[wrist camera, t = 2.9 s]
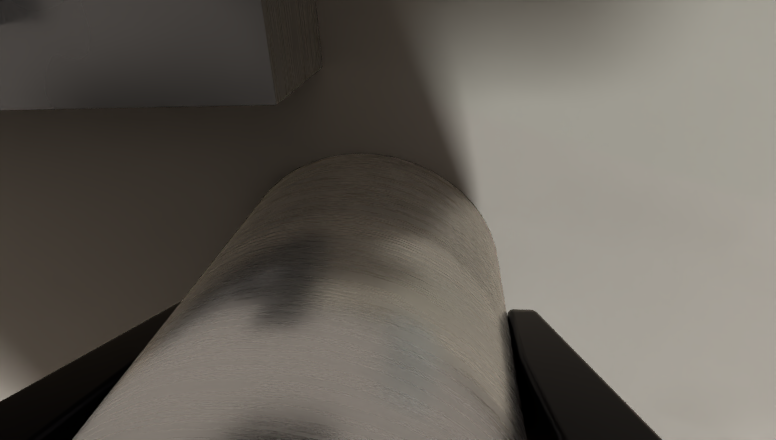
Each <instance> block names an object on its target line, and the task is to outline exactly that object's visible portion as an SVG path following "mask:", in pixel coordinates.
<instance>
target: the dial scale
mask: <svg viewBox="0 0 776 440" xmlns="http://www.w3.org/2000/svg"><path fill="white" fill-rule="evenodd" d="M321 68H322V58H321V48H320V39H319V29H318V19H317V10H316V0H0V110H34V109H86V108H138V107H189V106H241V105H277V104H278V103H279V102H280V101H282V100H283V99H284V98H285V97H287V96H288V95H289V94H290V93H291V92H293V91H294V90H295V89H296V88H298V87H299V86H300V85H301V84H302V83H304V82H305V81H306V80H307V79H309V78H310V77H311V76H312V75H313V74H315V73H316V72H317V71H318V70H320V69H321Z"/></svg>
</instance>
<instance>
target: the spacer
mask: <svg viewBox="0 0 776 440" xmlns="http://www.w3.org/2000/svg"><path fill="white" fill-rule="evenodd" d="M72 440H527V437H526V431H525V425H524V419H523V412H522V406H521V400H520V394H519V387H518V381H517V375H516V369H515V363H514V356H513V350H512V344H511V338H510V331H509V325H508V319H507V313H506V307H505V300H504V294H503V288H502V282H501V275H500V269H499V263H498V257H497V251H496V247H495V244H494V241H493V238H492V235H491V232H490V230H489V228H488V227H487V225H486V223H485V221H484V219H483V217H482V216H481V215H480V213H479V212H478V210H477V209H476V208H475V206H474V205H473V204H472V203H471V202H470V201H469V200H468V198H467V197H466V196H465V195H464V194H463V193H462V192H461V191H459V190H458V189H457V188H456V187H455V186H453V185H452V184H451V183H450V182H448V181H447V180H445V179H444V178H442V177H440V176H439V175H437V174H436V173H434V172H432V171H430V170H428V169H426V168H424V167H421V166H419V165H417V164H415V163H411V162H408V161H405V160H402V159H399V158H394V157H389V156H383V155H376V154H347V155H338V156H333V157H328V158H324V159H321V160H318V161H315V162H312V163H309V164H307V165H305V166H303V167H301V168H299V169H297V170H295V171H293V172H291V173H290V174H289V175H287V176H286V177H284V178H283V179H282V180H280V181H279V182H278V183H277V184H276V185H275V186H274V187H273V188H272V189H271V190H270V191H269V192H268V193H267V194H266V195H265V197H264V198H263V199H262V200H261V202H260V203H259V204H258V205H257V207H256V208H255V209H254V210H253V212H252V213H251V214H250V216H249V217H248V218H247V219H246V221H245V222H244V223H243V224H242V226H241V227H240V228H239V229H238V231H237V232H236V233H235V234H234V236H233V237H232V238H231V240H230V241H229V242H228V243H227V245H226V246H225V247H224V248H223V250H222V251H221V252H220V253H219V255H218V256H217V257H216V258H215V260H214V261H213V262H212V264H211V265H210V266H209V267H208V269H207V270H206V271H205V272H204V274H203V275H202V276H201V277H200V279H199V280H198V281H197V282H196V284H195V285H194V286H193V288H192V289H191V290H190V291H189V293H188V294H187V295H186V296H185V298H184V299H183V300H182V301H181V303H180V304H179V305H178V306H177V308H176V309H175V310H174V312H173V313H172V314H171V315H170V317H169V318H168V319H167V320H166V322H165V323H164V324H163V325H162V327H161V328H160V329H159V330H158V332H157V333H156V334H155V336H154V337H153V338H152V339H151V341H150V342H149V343H148V344H147V346H146V347H145V348H144V349H143V351H142V352H141V353H140V354H139V356H138V357H137V358H136V360H135V361H134V362H133V363H132V365H131V366H130V367H129V368H128V370H127V371H126V372H125V373H124V375H123V376H122V377H121V378H120V380H119V381H118V382H117V384H116V385H115V386H114V387H113V389H112V390H111V391H110V392H109V394H108V395H107V396H106V397H105V399H104V400H103V401H102V402H101V404H100V405H99V406H98V408H97V409H96V410H95V411H94V413H93V414H92V415H91V416H90V418H89V419H88V420H87V421H86V423H85V424H84V425H83V426H82V428H81V429H80V430H79V432H78V433H77V434H76V435H75V437H74V438H73V439H72Z"/></svg>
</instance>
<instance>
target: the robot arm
mask: <svg viewBox="0 0 776 440" xmlns="http://www.w3.org/2000/svg"><path fill="white" fill-rule="evenodd" d="M180 303H181V302H180ZM180 303H178V304H176V305H174V306H172V307H170V308H169V309H167V310H165V311H163V312H161V313H160V314H158V315H156V316H154V317H152V318H151V319H149V320H147V321H145V322H143V323H142V324H140V325H138V326H136V327H134V328H133V329H131V330H129V331H127V332H125V333H123V334H122V335H120V336H118V337H116V338H114V339H113V340H111V341H109V342H107V343H105V344H104V345H102V346H100V347H98V348H96V349H95V350H93V351H91V352H89V353H87V354H86V355H84V356H82V357H80V358H78V359H76V360H75V361H73V362H71V363H69V364H67V365H66V366H64V367H62V368H60V369H58V370H57V371H55V372H53V373H51V374H49V375H48V376H46V377H44V378H42V379H40V380H39V381H37V382H35V383H33V384H31V385H29V386H28V387H26V388H24V389H22V390H20V391H19V392H17V393H15V394H13V395H11V396H10V397H8V398H6V399H4V400H2V401H1V402H0V440H72V439H73V438H74V437H75V435H76V434H77V433H78V432H79V430H80V429H81V428H82V426H83V425H84V424H85V423H86V421H87V420H88V419H89V418H90V416H91V415H92V414H93V413H94V411H95V410H96V409H97V408H98V406H99V405H100V404H101V402H102V401H103V400H104V399H105V397H106V396H107V395H108V394H109V392H110V391H111V390H112V389H113V387H114V386H115V385H116V384H117V382H118V381H119V380H120V378H121V377H122V376H123V375H124V373H125V372H126V371H127V370H128V368H129V367H130V366H131V365H132V363H133V362H134V361H135V360H136V358H137V357H138V356H139V354H140V353H141V352H142V351H143V349H144V348H145V347H146V346H147V344H148V343H149V342H150V341H151V339H152V338H153V337H154V336H155V334H156V333H157V332H158V330H159V329H160V328H161V327H162V325H163V324H164V323H165V322H166V320H167V319H168V318H169V317H170V315H171V314H172V313H173V312H174V310H175V309H176V308H177V306H178V305H179V304H180ZM507 319H508V325H509V331H510V338H511V344H512V350H513V356H514V363H515V369H516V375H517V381H518V387H519V394H520V400H521V406H522V412H523V419H524V425H525V431H526V437H527V440H662V439H661V438H660V437H659V436H658V435H657V434H656V433H655V432H654V431H653V430H652V429H651V428H650V427H649V426H648V425H647V424H646V423H645V422H644V421H643V420H642V419H641V418H640V417H639V416H638V415H637V414H636V413H635V412H634V411H633V410H632V409H631V408H630V407H629V406H628V405H627V404H626V403H625V402H624V401H623V400H622V399H621V397H620V396H619V395H618V394H617V393H616V392H615V391H614V390H613V389H612V388H611V387H610V386H609V385H608V384H607V383H606V382H605V381H604V380H603V379H602V378H601V377H600V376H599V375H598V374H597V373H596V372H595V371H594V370H593V369H592V368H591V367H590V366H589V365H588V364H587V363H586V362H585V361H584V360H583V359H582V358H581V357H580V356H579V355H578V354H577V353H576V352H575V351H574V350H573V349H572V348H571V347H570V346H569V345H568V344H567V343H566V342H565V341H564V340H563V339H562V338H561V337H560V336H559V335H558V334H557V333H556V332H555V330H554V329H553V328H552V327H551V326H550V325H549V324H548V323H547V322H546V321H545V320H544V319H543V318H542V317H541V316H540V315H539V314H538V313H537V312H535V311H534V310H517V309H512V310H510V311H509V312H508V315H507Z"/></svg>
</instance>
